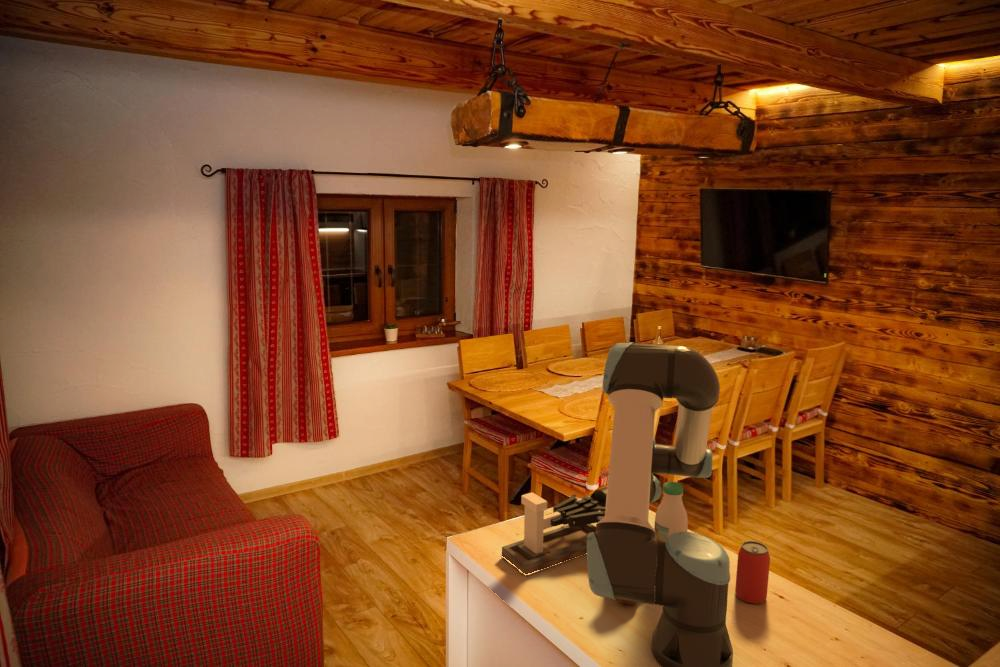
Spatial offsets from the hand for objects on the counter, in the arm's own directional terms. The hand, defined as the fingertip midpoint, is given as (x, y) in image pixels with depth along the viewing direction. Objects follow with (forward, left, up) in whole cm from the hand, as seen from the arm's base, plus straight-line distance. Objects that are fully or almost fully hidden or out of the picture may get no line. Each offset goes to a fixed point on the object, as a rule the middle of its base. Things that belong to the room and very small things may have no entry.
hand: (537, 524), depth 165 cm
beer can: (-15, -47, -9) cm, 50 cm away
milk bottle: (-1, -32, -9) cm, 33 cm away
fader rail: (+3, -5, -9) cm, 11 cm away
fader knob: (-1, +1, -7) cm, 7 cm away
